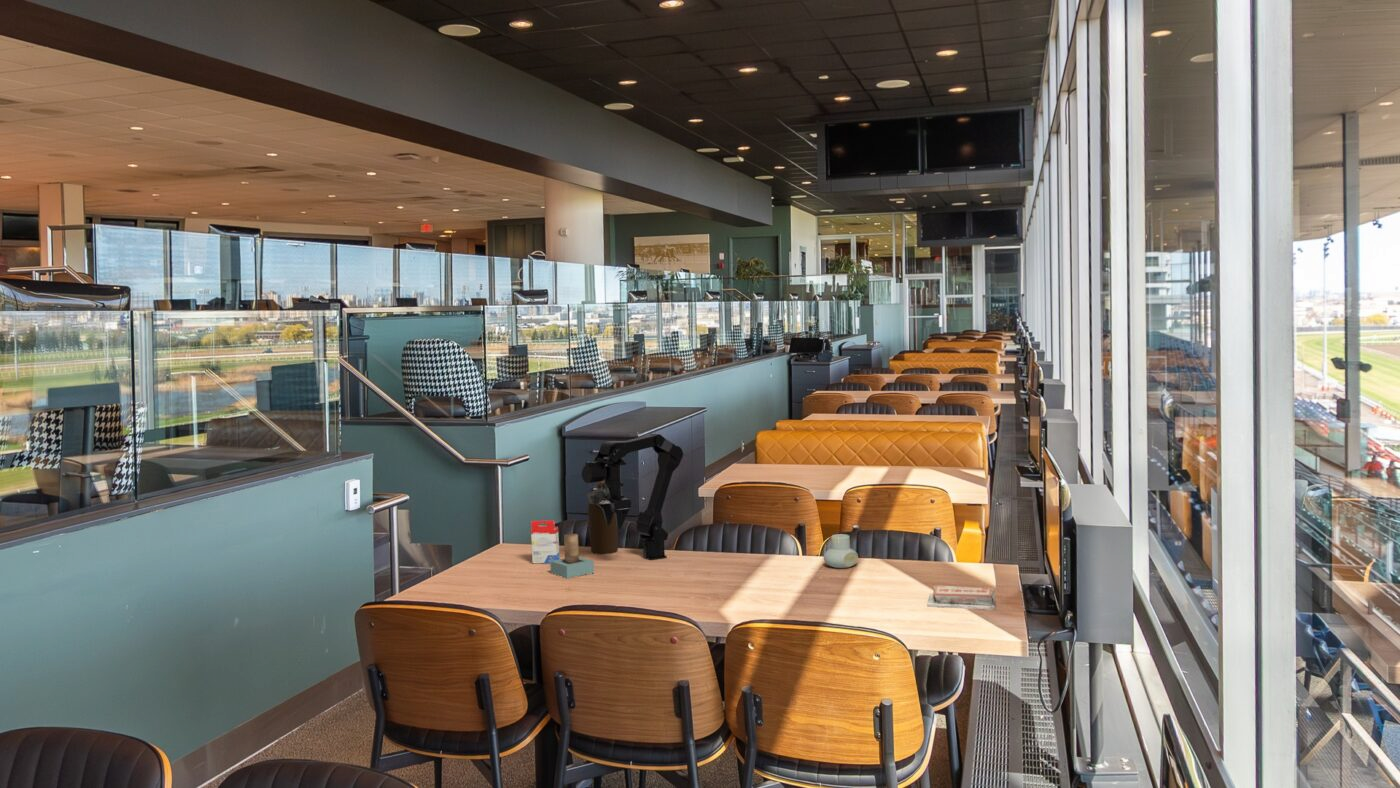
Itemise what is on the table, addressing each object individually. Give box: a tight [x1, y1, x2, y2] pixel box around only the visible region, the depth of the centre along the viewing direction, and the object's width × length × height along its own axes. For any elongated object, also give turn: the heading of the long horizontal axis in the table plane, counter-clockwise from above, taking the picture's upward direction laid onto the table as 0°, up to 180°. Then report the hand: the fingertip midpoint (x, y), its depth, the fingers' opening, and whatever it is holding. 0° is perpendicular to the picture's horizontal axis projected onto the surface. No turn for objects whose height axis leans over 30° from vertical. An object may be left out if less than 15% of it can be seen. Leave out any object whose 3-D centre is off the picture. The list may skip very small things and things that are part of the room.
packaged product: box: [926, 585, 996, 611], centre depth 293 cm, size 18×5×10 cm
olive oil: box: [587, 480, 619, 555], centre depth 375 cm, size 11×11×25 cm
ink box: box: [530, 520, 561, 564], centre depth 360 cm, size 8×5×15 cm, turn 84°
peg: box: [563, 533, 580, 564], centre depth 342 cm, size 4×4×12 cm
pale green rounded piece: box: [823, 533, 859, 569], centre depth 342 cm, size 11×8×10 cm
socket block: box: [550, 556, 595, 579], centre depth 343 cm, size 10×10×4 cm
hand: (614, 526), depth 351 cm, fingers open, 9 cm apart
